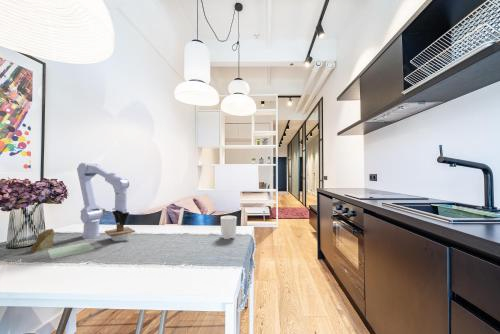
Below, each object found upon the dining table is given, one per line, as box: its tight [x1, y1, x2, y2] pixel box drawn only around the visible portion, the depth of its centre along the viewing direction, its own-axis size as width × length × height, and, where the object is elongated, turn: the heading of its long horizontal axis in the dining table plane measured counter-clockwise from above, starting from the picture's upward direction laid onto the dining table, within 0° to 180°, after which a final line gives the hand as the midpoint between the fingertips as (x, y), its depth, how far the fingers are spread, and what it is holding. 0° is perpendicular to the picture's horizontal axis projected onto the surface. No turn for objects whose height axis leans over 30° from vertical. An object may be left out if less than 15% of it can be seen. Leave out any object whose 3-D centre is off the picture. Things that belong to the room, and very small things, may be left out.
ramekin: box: [111, 233, 130, 242], centre depth 123 cm, size 9×9×4 cm
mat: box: [47, 241, 95, 260], centre depth 106 cm, size 16×16×1 cm
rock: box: [29, 228, 55, 254], centre depth 106 cm, size 11×9×10 cm
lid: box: [104, 223, 136, 238], centre depth 123 cm, size 12×12×5 cm
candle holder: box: [220, 215, 238, 240], centre depth 129 cm, size 10×10×12 cm
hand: (120, 223), depth 123 cm, fingers open, 7 cm apart
